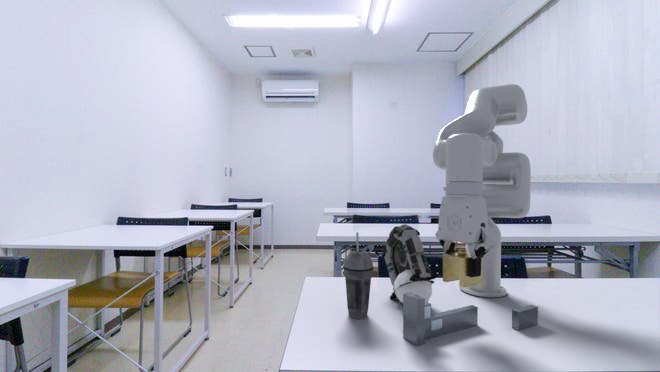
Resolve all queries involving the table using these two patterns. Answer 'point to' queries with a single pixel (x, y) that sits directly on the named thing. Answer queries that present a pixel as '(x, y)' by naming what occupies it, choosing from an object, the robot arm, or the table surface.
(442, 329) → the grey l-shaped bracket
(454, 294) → the table surface
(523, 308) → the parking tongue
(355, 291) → the beverage cup
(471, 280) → the tan box with knob
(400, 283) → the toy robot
